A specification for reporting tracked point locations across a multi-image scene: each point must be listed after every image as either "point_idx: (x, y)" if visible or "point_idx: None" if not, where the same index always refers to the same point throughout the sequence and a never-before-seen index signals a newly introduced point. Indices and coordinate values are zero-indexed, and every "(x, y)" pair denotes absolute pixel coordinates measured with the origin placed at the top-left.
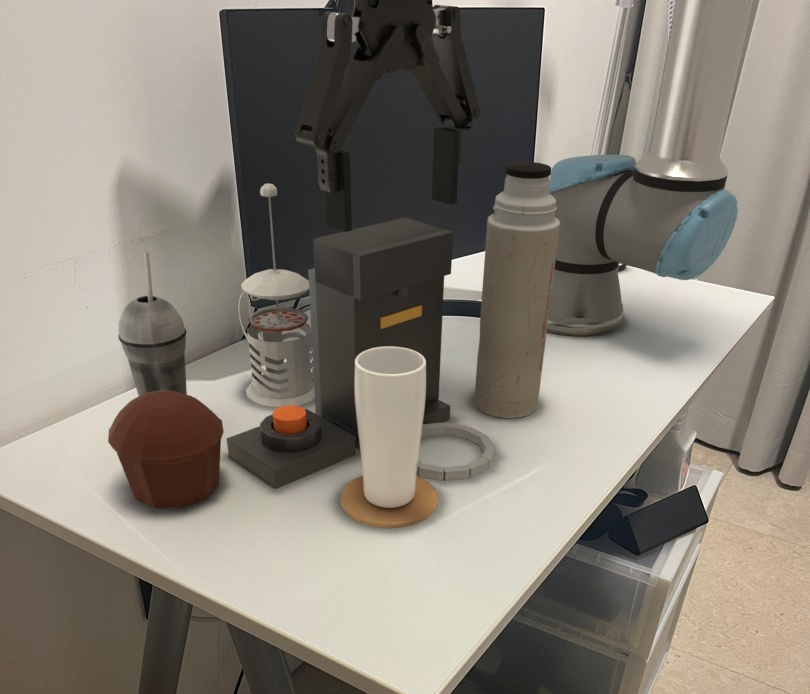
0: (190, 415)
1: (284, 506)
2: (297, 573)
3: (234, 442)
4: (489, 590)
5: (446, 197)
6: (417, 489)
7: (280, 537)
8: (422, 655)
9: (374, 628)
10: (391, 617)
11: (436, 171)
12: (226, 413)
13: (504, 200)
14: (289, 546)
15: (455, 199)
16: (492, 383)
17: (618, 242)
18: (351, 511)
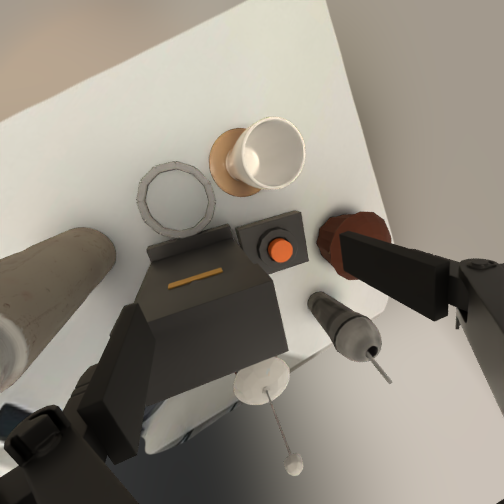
0: (364, 232)
1: (298, 190)
2: (320, 122)
3: (307, 254)
4: (232, 31)
5: (141, 318)
6: (220, 162)
7: (313, 161)
8: (298, 3)
9: (308, 46)
10: (296, 48)
11: (146, 365)
12: (284, 308)
13: None
14: (312, 149)
15: (125, 310)
16: (102, 248)
17: None
18: None
